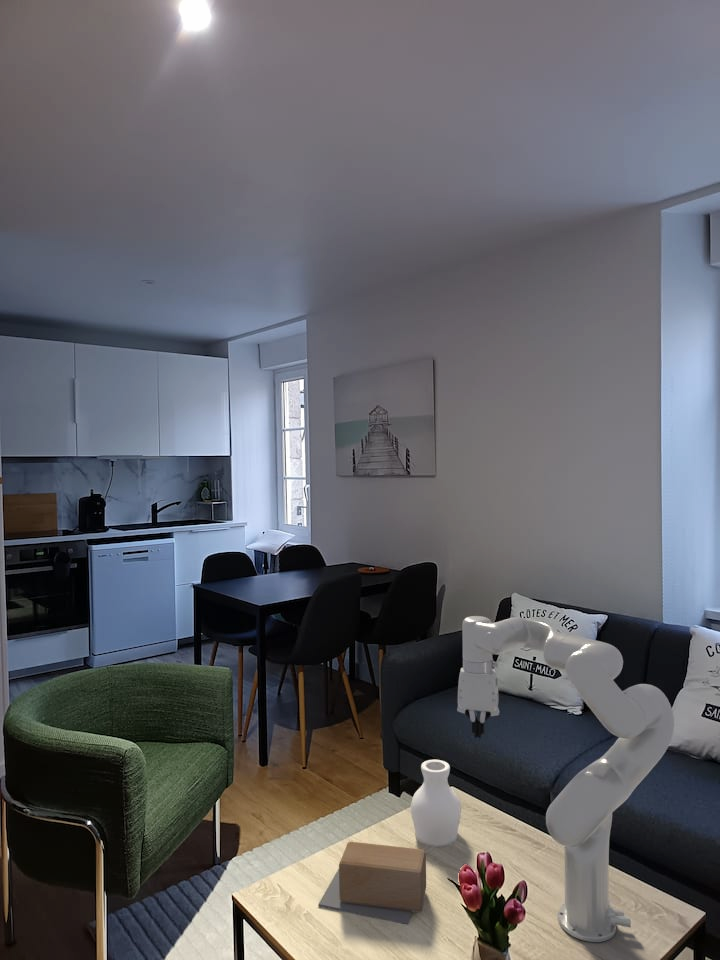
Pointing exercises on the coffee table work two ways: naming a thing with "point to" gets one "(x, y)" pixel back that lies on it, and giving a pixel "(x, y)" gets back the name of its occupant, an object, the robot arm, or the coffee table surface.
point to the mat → (360, 906)
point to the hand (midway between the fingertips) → (478, 735)
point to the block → (383, 876)
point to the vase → (436, 806)
